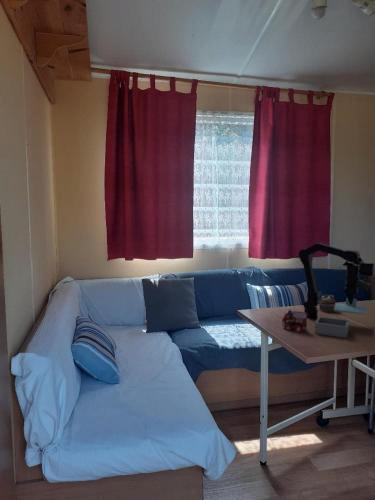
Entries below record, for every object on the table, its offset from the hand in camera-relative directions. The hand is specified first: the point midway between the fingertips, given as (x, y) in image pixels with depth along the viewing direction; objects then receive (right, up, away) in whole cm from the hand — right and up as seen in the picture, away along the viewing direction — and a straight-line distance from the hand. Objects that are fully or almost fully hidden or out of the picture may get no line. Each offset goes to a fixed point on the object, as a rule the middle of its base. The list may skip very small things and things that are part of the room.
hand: (351, 303), depth 187 cm
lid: (-3, -3, -4) cm, 6 cm away
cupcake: (-1, -9, +30) cm, 31 cm away
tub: (-16, -13, -13) cm, 24 cm away
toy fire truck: (-32, -13, -9) cm, 36 cm away
